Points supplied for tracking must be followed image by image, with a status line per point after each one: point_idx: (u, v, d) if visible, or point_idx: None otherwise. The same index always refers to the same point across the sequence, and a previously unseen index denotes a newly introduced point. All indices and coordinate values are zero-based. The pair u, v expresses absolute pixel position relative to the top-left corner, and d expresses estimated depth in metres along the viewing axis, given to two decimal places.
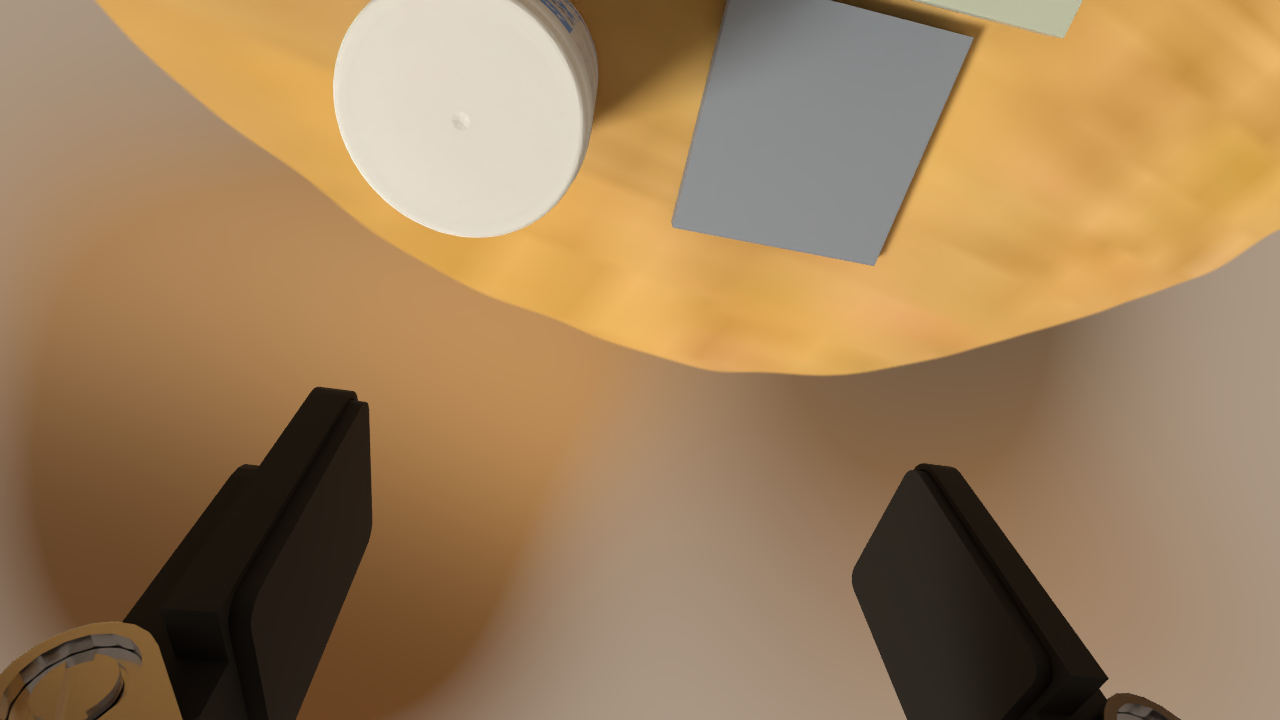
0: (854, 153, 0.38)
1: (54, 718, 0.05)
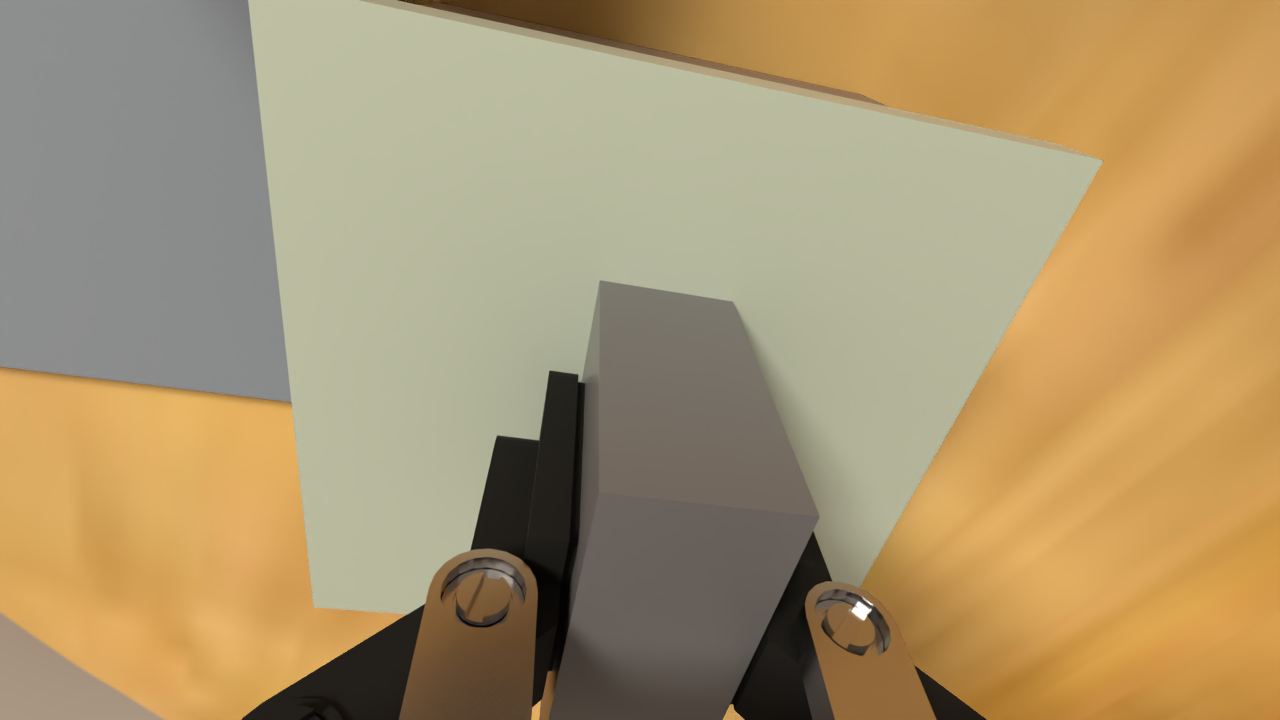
0: (136, 271, 0.19)
1: (465, 610, 0.07)
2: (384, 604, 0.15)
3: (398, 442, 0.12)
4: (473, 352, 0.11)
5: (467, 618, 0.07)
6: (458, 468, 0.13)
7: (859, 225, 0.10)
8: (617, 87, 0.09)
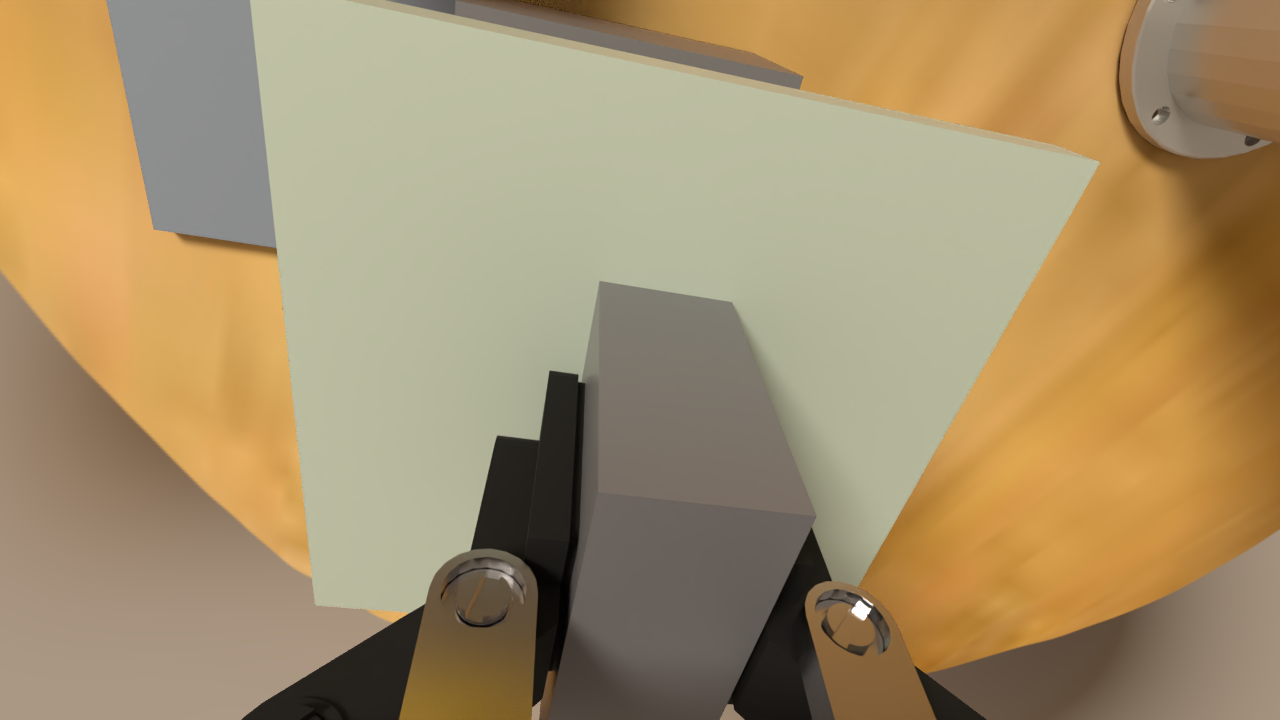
0: None
1: (466, 610, 0.07)
2: (385, 602, 0.15)
3: (399, 441, 0.12)
4: (473, 352, 0.11)
5: (467, 618, 0.07)
6: (459, 467, 0.13)
7: (857, 226, 0.11)
8: (616, 89, 0.09)
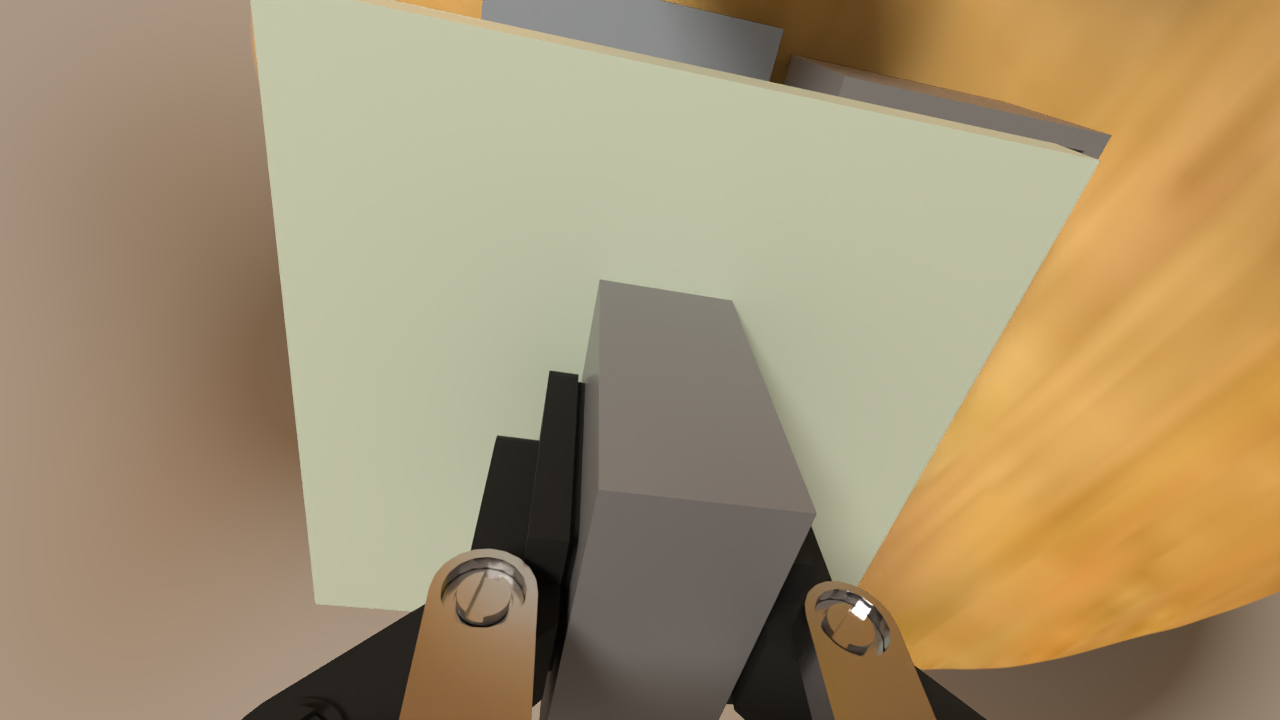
0: None
1: (466, 610, 0.07)
2: (385, 601, 0.15)
3: (399, 440, 0.12)
4: (474, 351, 0.11)
5: (468, 618, 0.07)
6: (459, 466, 0.13)
7: (857, 224, 0.11)
8: (617, 88, 0.09)
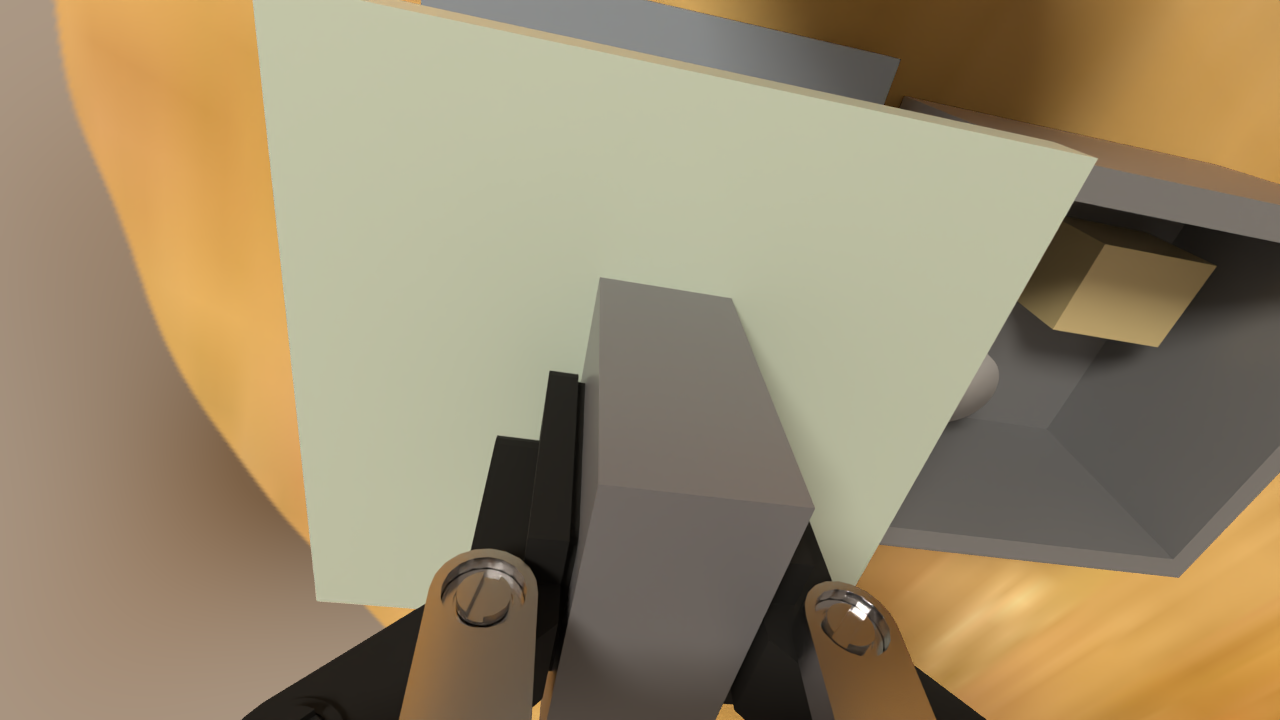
0: None
1: (466, 610, 0.07)
2: (386, 598, 0.15)
3: (400, 437, 0.13)
4: (474, 348, 0.12)
5: (468, 618, 0.07)
6: (459, 463, 0.13)
7: (856, 222, 0.11)
8: (617, 86, 0.09)
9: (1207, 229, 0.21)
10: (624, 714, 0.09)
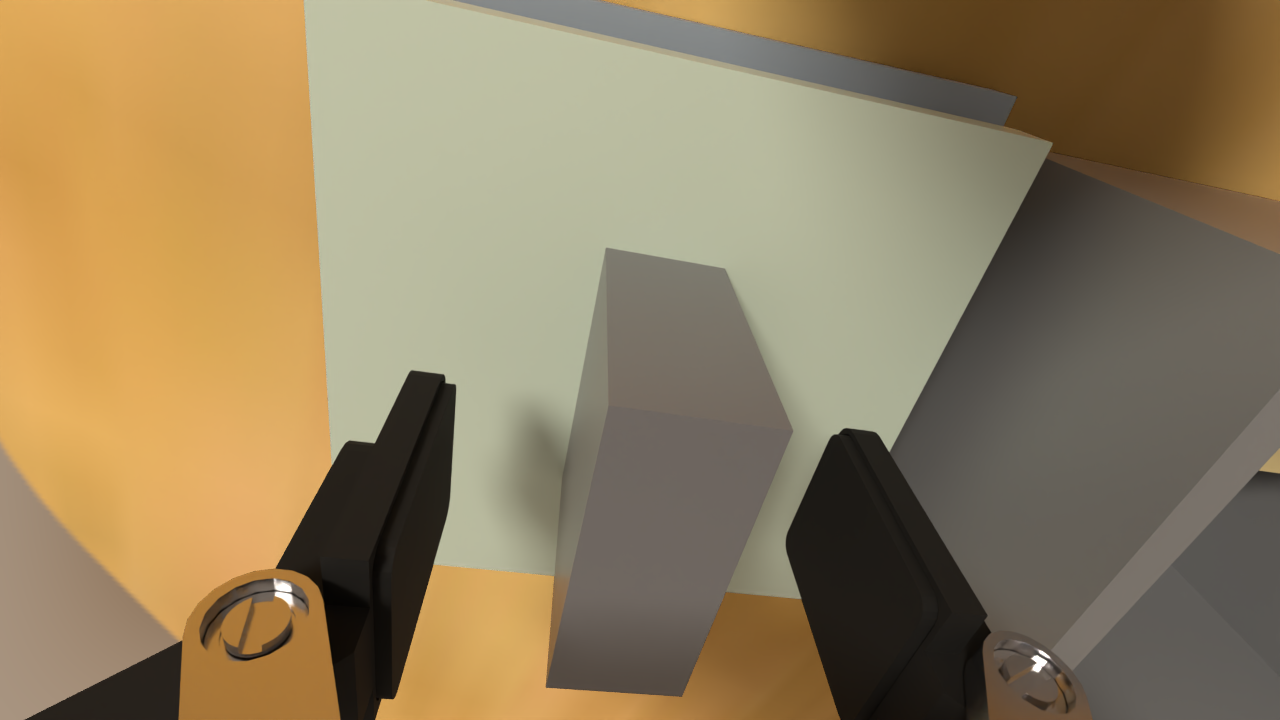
0: None
1: (238, 645, 0.06)
2: None
3: None
4: (491, 313, 0.13)
5: (242, 653, 0.06)
6: (474, 422, 0.14)
7: (837, 199, 0.12)
8: (623, 73, 0.10)
9: None
10: (626, 628, 0.10)
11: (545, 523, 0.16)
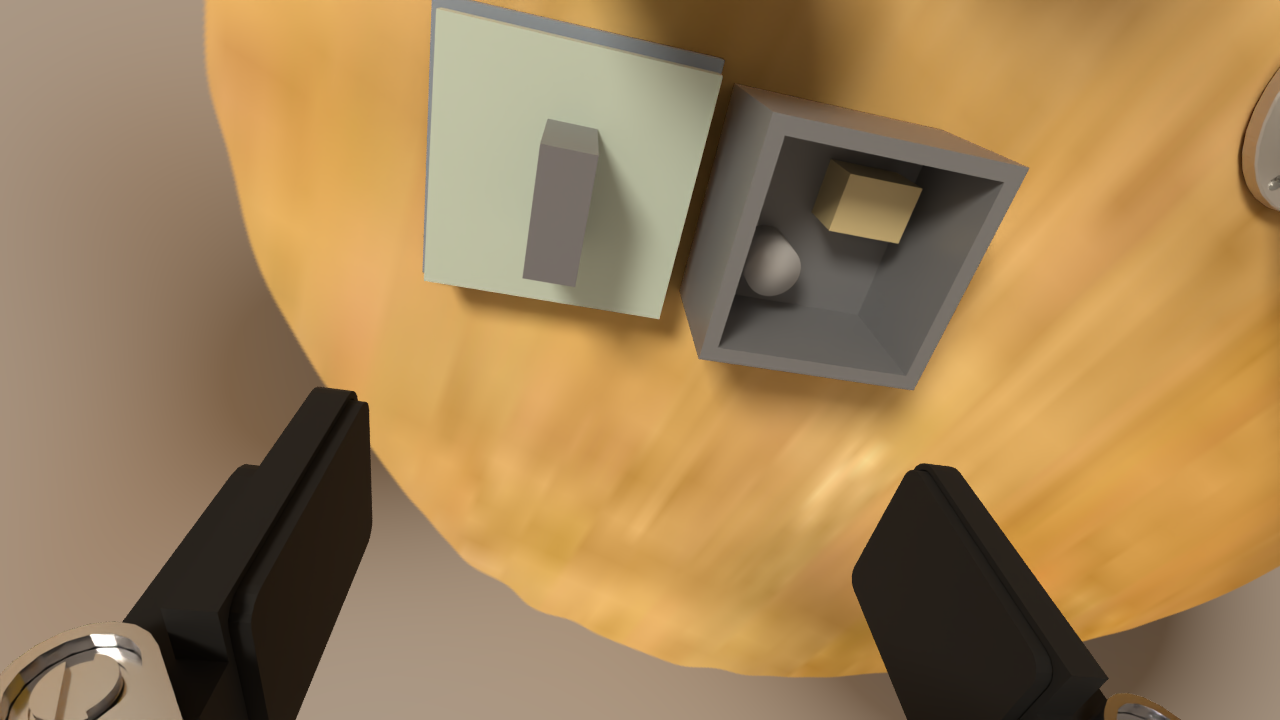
0: None
1: (54, 718, 0.05)
2: (455, 280, 0.34)
3: (468, 190, 0.31)
4: (500, 148, 0.30)
5: None
6: (491, 204, 0.31)
7: (640, 99, 0.29)
8: (551, 46, 0.28)
9: (930, 169, 0.33)
10: (551, 246, 0.27)
11: (524, 264, 0.33)
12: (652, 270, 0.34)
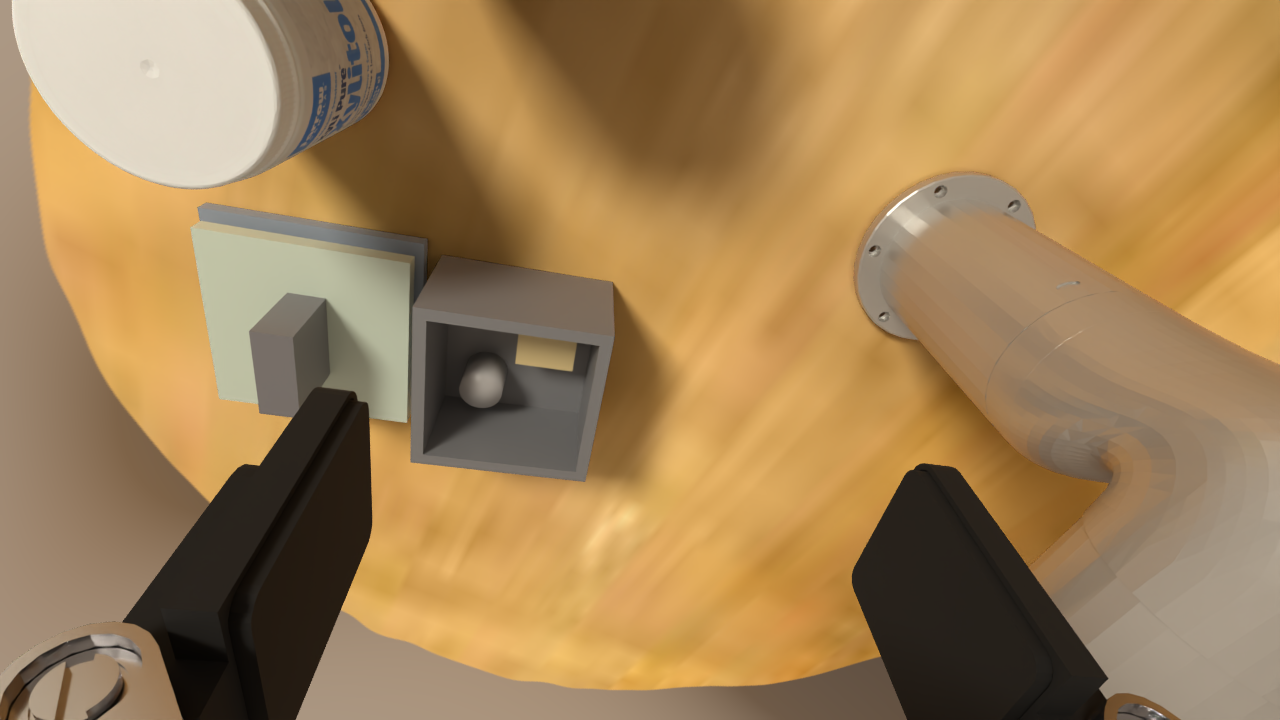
0: None
1: (54, 718, 0.05)
2: (243, 398, 0.45)
3: (239, 339, 0.42)
4: (256, 312, 0.41)
5: None
6: None
7: (352, 279, 0.40)
8: (278, 247, 0.39)
9: None
10: (274, 393, 0.39)
11: None
12: (392, 389, 0.45)
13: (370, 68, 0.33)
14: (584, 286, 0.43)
